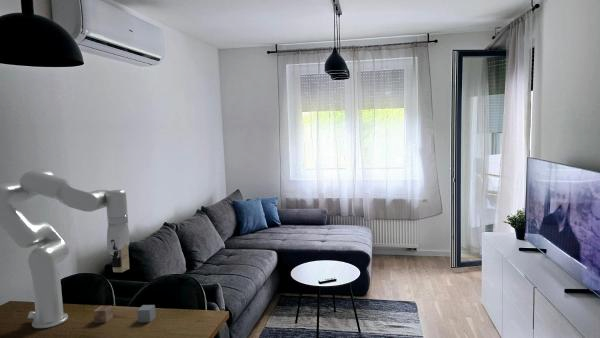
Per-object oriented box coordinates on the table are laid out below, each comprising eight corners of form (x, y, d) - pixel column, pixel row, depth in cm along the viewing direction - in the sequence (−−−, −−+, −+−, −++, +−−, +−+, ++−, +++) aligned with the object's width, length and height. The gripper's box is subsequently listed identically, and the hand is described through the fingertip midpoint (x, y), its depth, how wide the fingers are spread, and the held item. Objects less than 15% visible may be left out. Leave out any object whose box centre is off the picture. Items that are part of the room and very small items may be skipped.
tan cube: (94, 323, 166) (93, 310, 166) (101, 317, 171) (100, 305, 171) (106, 322, 166) (105, 310, 165) (113, 317, 171) (112, 305, 170)
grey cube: (138, 322, 165) (137, 310, 164) (143, 316, 170) (142, 305, 169) (150, 322, 164) (149, 310, 164) (155, 316, 169) (154, 304, 169)
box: (122, 272, 165) (120, 245, 165) (112, 272, 166) (110, 245, 165) (130, 268, 170) (128, 242, 170) (120, 268, 171) (118, 241, 171)
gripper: (119, 216, 176) (122, 258, 177) (97, 225, 159) (100, 271, 160) (136, 216, 175) (139, 258, 176) (116, 224, 158) (119, 271, 159)
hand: (120, 264), depth 168 cm, fingers closed on box, 5 cm apart
